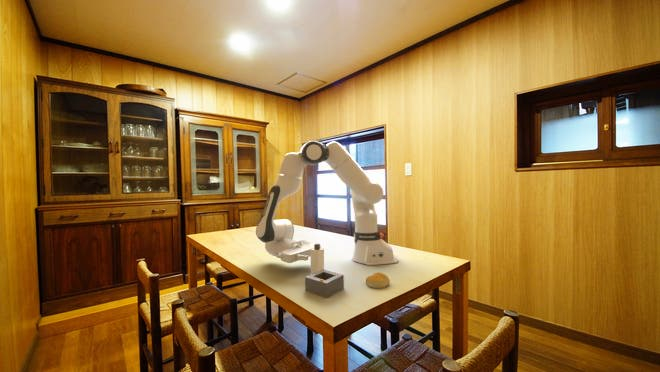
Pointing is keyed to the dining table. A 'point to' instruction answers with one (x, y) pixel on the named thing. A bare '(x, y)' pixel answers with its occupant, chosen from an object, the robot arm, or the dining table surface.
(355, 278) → the dining table surface
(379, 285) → the bread roll
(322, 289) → the socket block
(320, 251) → the plug
